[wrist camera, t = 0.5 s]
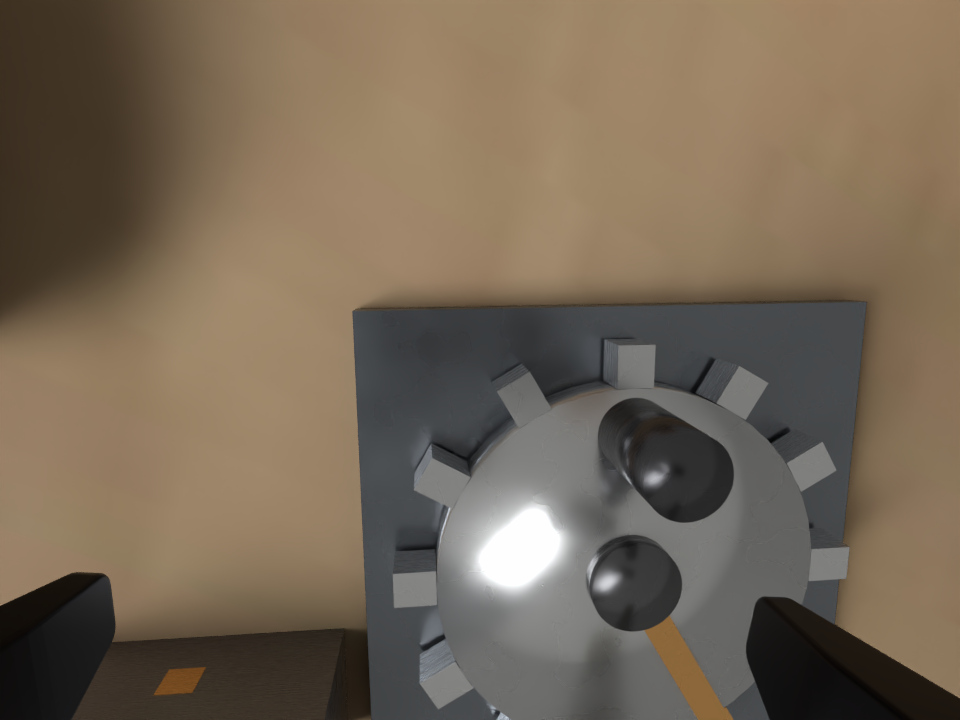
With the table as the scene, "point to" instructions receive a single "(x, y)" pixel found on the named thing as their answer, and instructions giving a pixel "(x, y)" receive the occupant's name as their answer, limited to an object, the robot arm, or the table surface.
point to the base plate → (555, 367)
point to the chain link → (222, 678)
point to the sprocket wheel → (614, 546)
